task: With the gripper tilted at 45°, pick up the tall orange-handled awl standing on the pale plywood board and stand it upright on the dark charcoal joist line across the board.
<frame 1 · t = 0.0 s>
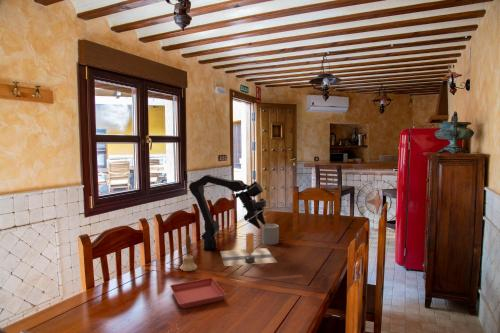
hand: (262, 226, 187), 15 cm above the table, tool tilted 35°, fingers open, 9 cm apart
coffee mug: (272, 241, 210), on the table
hand bell: (188, 268, 168), on the table
plant saucer: (197, 298, 137), on the table
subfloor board: (247, 258, 181), on the table
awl: (250, 261, 173), point 1 cm above the table, touching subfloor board
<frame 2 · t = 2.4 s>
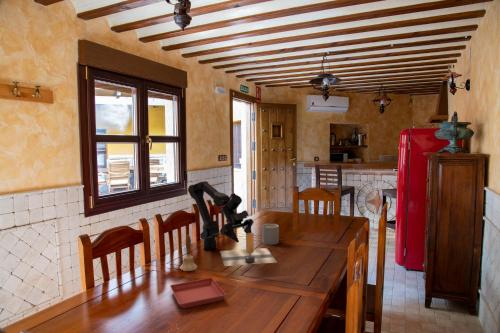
hand: (245, 240, 175), 11 cm above the table, tool tilted 45°, fingers open, 9 cm apart
nothing on the table moved.
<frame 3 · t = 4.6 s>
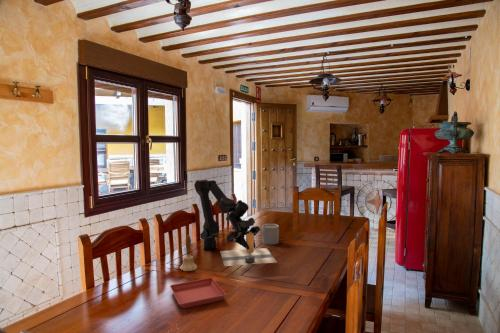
hand: (251, 248, 171), 8 cm above the table, tool tilted 45°, fingers closed on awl, 4 cm apart
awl: (250, 261, 173), point 1 cm above the table, touching gripper, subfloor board
everything else where it was.
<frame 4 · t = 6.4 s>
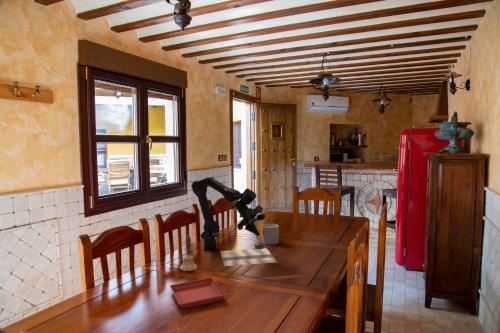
hand: (261, 234, 176), 13 cm above the table, tool tilted 45°, fingers closed on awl, 4 cm apart
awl: (259, 247, 177), point 6 cm above the table, touching gripper
everything else where it was.
when the fingers open (9 cm above the table, at t = 8.5 s): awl drops 1 cm, resting on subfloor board.
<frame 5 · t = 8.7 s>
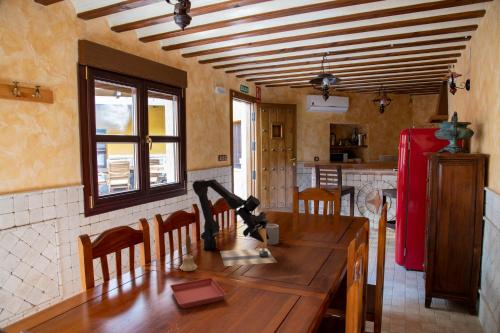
hand: (266, 240, 179), 10 cm above the table, tool tilted 45°, fingers open, 6 cm apart
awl: (263, 256, 181), point 1 cm above the table, touching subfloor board
everything else where it was.
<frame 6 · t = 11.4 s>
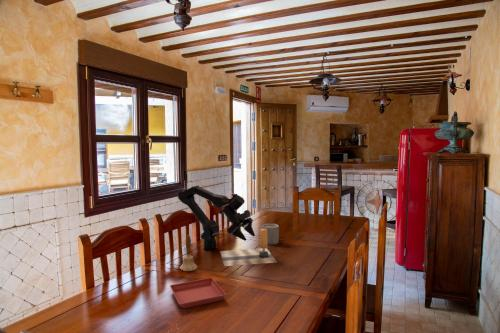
hand: (250, 238, 184), 10 cm above the table, tool tilted 45°, fingers open, 9 cm apart
nothing on the table moved.
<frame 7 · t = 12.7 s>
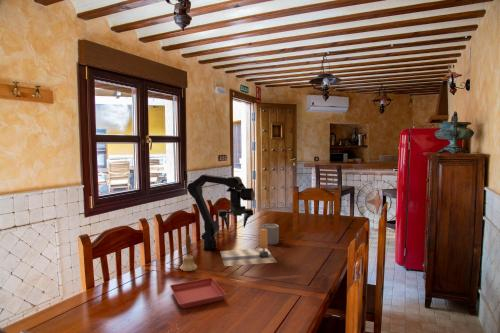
hand: (235, 228, 191), 13 cm above the table, tool pointing down, fingers open, 9 cm apart
nothing on the table moved.
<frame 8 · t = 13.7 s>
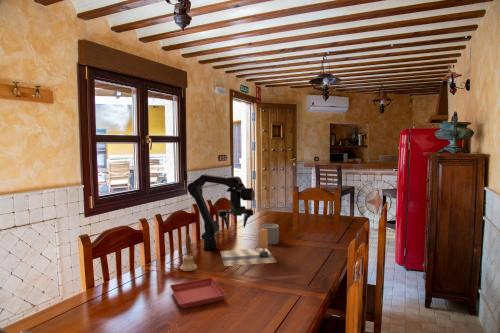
hand: (235, 228, 191), 13 cm above the table, tool pointing down, fingers open, 9 cm apart
nothing on the table moved.
at the end: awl 0.1 cm from the target spot, point 1.0 cm above the table; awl tilted 0°; the gripper is holding nothing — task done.
